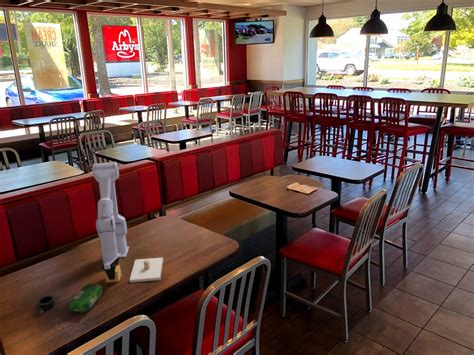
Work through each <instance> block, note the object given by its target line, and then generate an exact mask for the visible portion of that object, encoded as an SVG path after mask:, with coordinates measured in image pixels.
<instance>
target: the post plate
mask: <svg viewBox="0 0 474 355" xmlns="http://www.w3.org/2000/svg"><path fill="white" fill-rule="evenodd" d="M163 264H164V257H153V258H152V257H151V258H140V259H139V258H138V259H135V260H134V263H133V266H132V270H131V273H130V275H129V276H130V277H129V283H141V282H149V281H161V278H162V277H161V276H162V271H163Z"/></svg>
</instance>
